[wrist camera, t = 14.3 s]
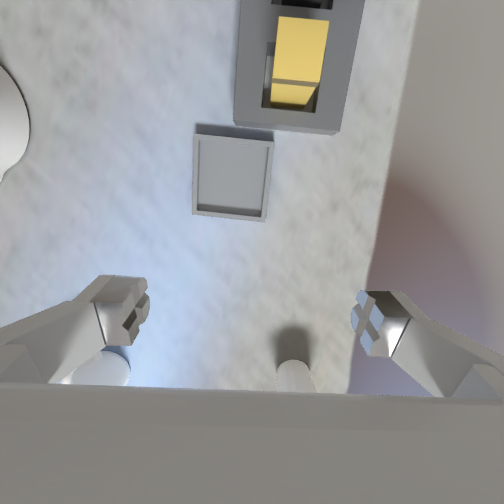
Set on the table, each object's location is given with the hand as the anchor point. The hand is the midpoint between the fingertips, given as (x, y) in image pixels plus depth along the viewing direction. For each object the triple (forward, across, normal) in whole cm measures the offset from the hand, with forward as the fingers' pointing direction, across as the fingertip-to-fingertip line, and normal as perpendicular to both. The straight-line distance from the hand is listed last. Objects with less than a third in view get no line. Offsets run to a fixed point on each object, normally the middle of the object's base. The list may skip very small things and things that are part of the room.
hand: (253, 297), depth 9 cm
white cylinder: (+20, -10, +31) cm, 38 cm away
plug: (+26, -4, -11) cm, 29 cm away
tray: (+25, +2, 0) cm, 26 cm away
